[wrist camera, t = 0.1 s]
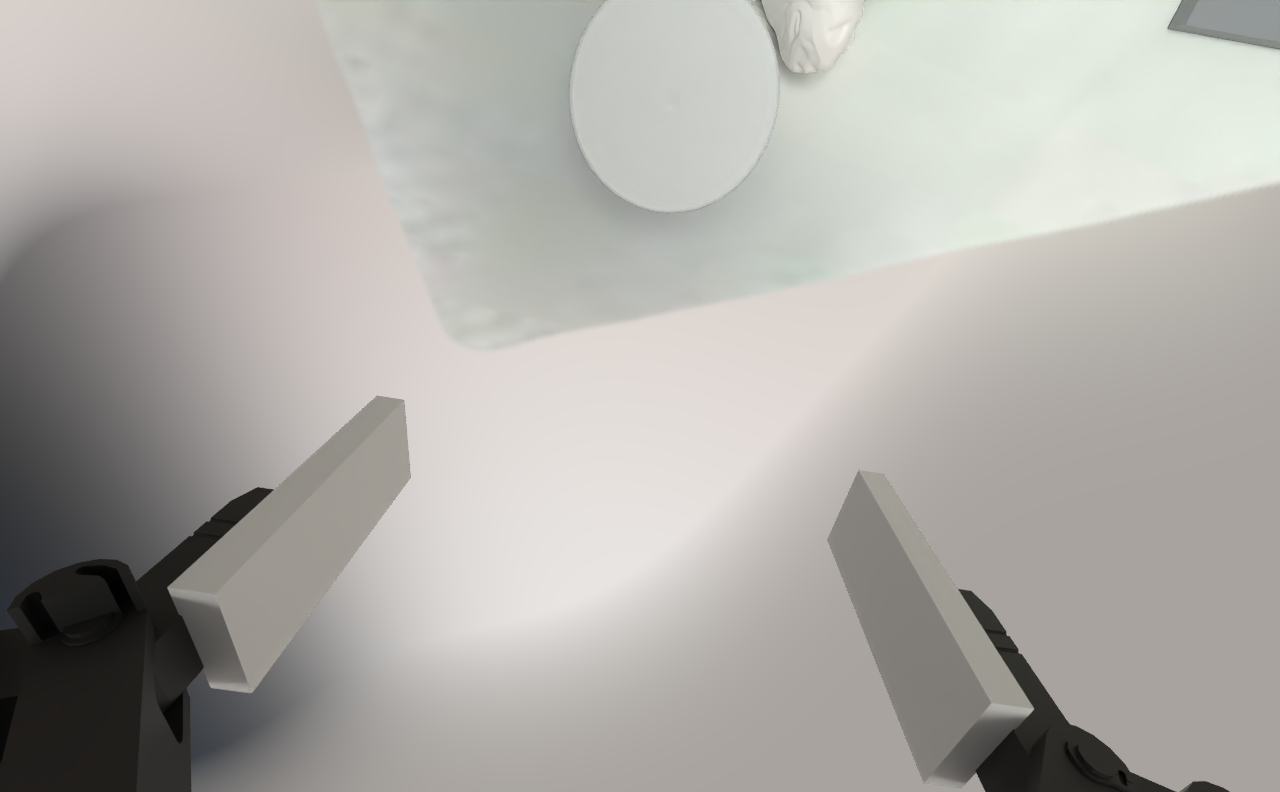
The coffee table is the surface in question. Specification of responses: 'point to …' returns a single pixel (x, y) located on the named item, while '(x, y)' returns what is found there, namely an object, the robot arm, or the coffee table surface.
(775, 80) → the supplement tub
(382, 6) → the coffee table surface
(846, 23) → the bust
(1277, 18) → the post block
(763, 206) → the coffee table surface
